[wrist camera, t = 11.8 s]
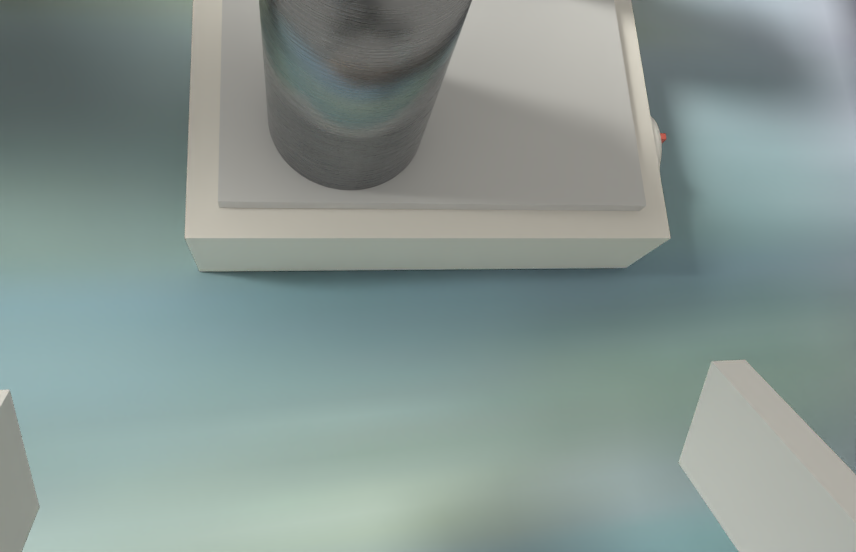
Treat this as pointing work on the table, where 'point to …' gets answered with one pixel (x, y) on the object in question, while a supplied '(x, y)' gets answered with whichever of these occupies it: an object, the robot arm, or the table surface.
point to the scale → (441, 154)
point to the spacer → (354, 82)
